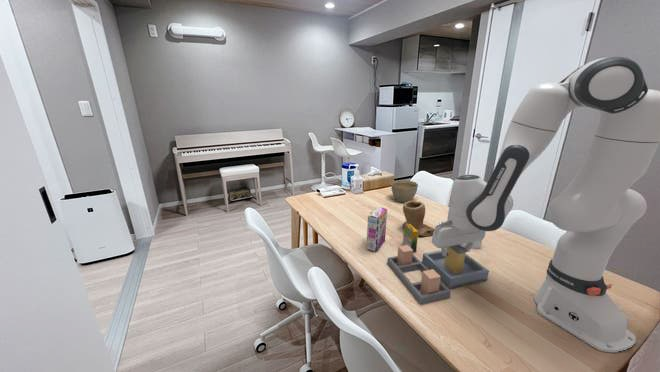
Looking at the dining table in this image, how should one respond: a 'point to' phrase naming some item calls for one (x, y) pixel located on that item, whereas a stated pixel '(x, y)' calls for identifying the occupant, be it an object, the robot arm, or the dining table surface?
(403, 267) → the slot holder
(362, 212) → the dining table surface
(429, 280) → the block
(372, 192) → the dining table surface
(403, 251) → the block
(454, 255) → the yellow box
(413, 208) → the brown clay vase
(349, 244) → the dining table surface
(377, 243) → the candy bar box
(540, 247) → the dining table surface
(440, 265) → the tray
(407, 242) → the crayon box
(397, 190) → the planter bowl
